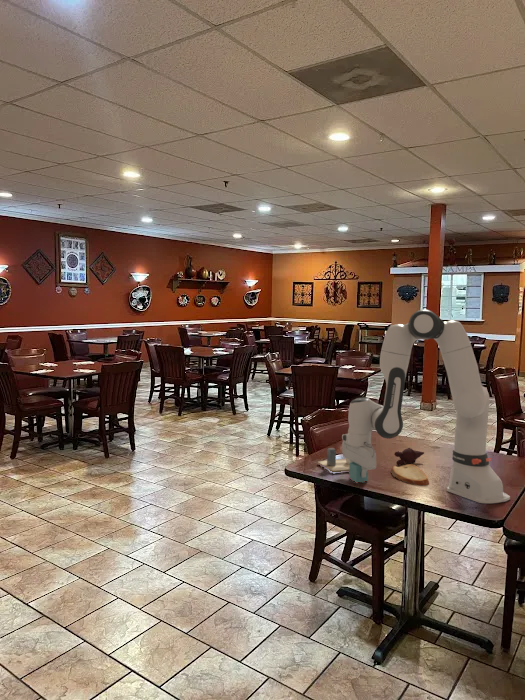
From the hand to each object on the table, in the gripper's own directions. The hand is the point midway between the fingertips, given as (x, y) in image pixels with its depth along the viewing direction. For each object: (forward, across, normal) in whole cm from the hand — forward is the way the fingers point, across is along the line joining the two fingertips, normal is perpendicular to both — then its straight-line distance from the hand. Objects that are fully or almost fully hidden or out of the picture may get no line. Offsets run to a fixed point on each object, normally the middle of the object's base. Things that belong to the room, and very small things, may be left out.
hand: (358, 474), depth 213 cm
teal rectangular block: (+2, 0, 0) cm, 2 cm away
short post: (+1, +17, -6) cm, 18 cm away
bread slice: (+3, -2, -23) cm, 23 cm away
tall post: (+1, +17, +3) cm, 17 cm away
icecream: (+3, +14, -33) cm, 36 cm away
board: (+2, +17, -2) cm, 17 cm away
